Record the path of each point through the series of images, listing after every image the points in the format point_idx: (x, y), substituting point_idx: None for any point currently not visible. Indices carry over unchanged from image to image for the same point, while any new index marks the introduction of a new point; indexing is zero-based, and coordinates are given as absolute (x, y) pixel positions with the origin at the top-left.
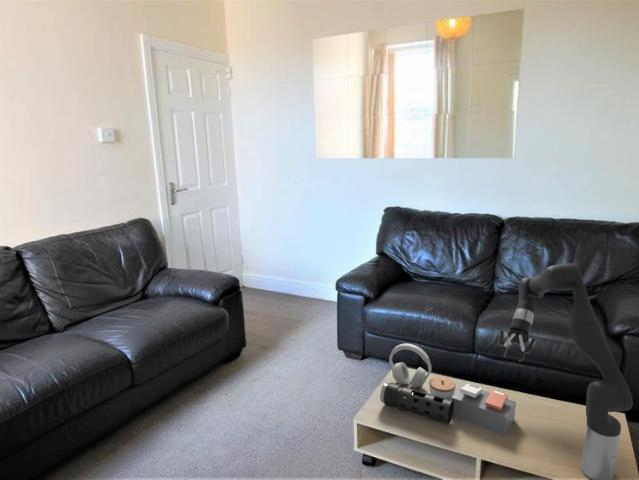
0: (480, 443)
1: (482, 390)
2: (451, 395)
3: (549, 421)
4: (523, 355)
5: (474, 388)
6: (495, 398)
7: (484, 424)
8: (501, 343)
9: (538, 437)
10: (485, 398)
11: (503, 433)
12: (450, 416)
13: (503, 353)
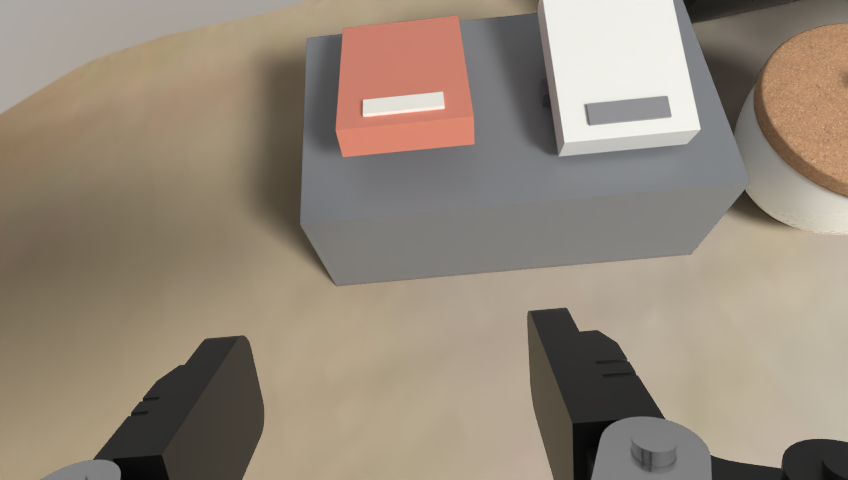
0: (411, 19)
1: (575, 197)
2: (738, 124)
3: None
4: (118, 439)
5: (603, 75)
6: (408, 62)
7: None
8: (804, 458)
9: (183, 224)
10: (501, 122)
11: None
12: None
13: (560, 323)
